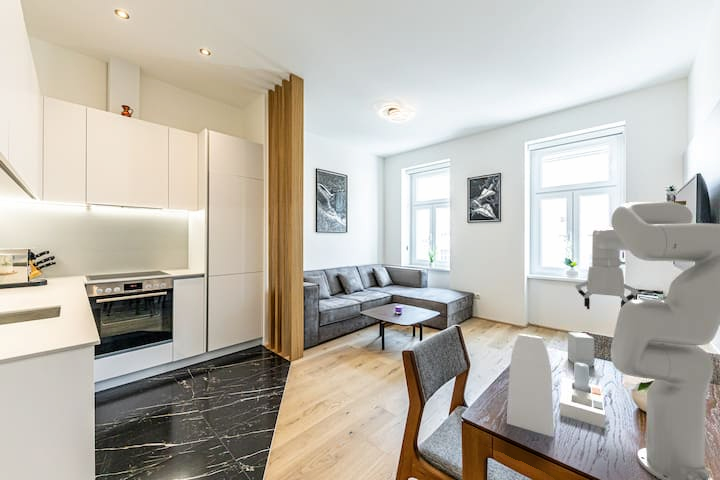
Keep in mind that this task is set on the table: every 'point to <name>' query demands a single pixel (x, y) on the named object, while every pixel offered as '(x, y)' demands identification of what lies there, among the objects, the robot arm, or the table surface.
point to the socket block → (582, 403)
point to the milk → (530, 386)
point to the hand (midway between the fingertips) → (604, 310)
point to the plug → (581, 377)
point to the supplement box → (581, 348)
